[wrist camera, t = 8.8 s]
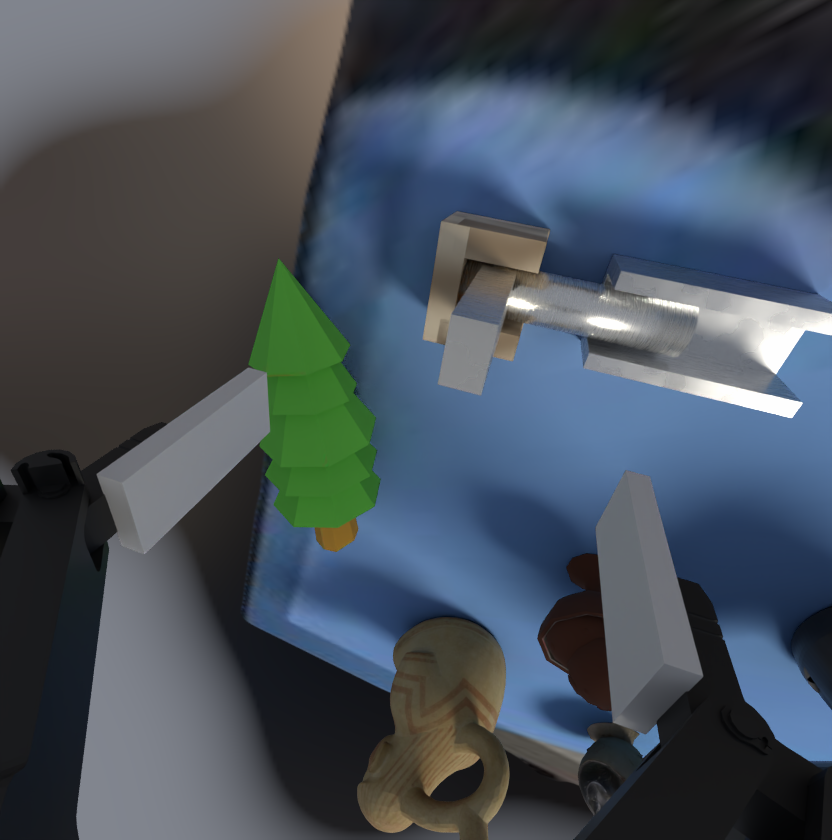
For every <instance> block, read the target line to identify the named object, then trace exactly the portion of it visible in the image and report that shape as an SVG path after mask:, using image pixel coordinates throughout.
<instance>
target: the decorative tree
mask: <svg viewBox="0 0 832 840" xmlns="http://www.w3.org/2000/svg"><path fill="white" fill-rule="evenodd" d="M349 347H350V344H349V342H348V341H347V340H346V339H345V338H344V336H343V335H342V334H341V333H340V332H339V330H338V329H337V328H336V327H335V325H334V324H333V323H332V322H331V321H330V319H329V318H328V317H327V316H326V315H325V313H324V312H323V311H322V310H321V309H320V307H319V306H318V305H317V304H316V303H315V301H314V300H313V299H312V298H311V297H310V295H309V294H308V293H307V292H306V291H305V289H304V288H303V287H302V286H301V285H300V283H299V282H298V281H297V280H296V278H295V277H294V276H293V275H292V274H291V272H290V271H289V270H288V269H287V268H286V266H285V265H284V264H283V263H282V262H281V260H280V259H278V262H277V265H276V269H275V272H274V276H273V279H272V283H271V286H270V290H269V293H268V297H267V300H266V304H265V307H264V311H263V315H262V318H261V322H260V325H259V329H258V332H257V336H256V340H255V343H254V346H253V350H252V353H251V357H250V361H249V365H250V366H252V367H253V368H254V369H256V370H259V371H263V372H267V386H268V403H269V420H270V432H269V433H268V434H267V435H266V436H265V437H264V438H263V439H262V440H261V442H260V447H261V448H262V449H263V450H264V451H265V452H266V453H267V454H268V455H269V456H270V457H271V458H272V459H273V460H272V462H271V464H270V466H269V468H268V470H267V472H266V474H265V476H266V477H267V478H268V479H269V480H270V481H271V482H272V483H273V484H274V485H275V486H276V487H277V488H278V489H279V490H280V491H279V493H278V496H277V498H276V500H275V502H274V506H275V507H276V508H277V509H278V510H279V511H280V513H281V514H282V515H283V516H284V517H285V518H286V519H287V520H288V521H289V523H290V524H291V525H292V526H293V527H315V533H316V540H317V542H318V543H319V544H320V545H321V546H322V548H323V549H325V550H330V551H334V552H337V551H339V550H340V549H342V548H343V547H345V546H346V545H348V544H349V543H351V542H352V541H354V539H355V537H356V534H357V531H358V525H357V521H356V517H357V516H359V515H361V514H362V513H364V512H366V511H368V510H369V509H371V508H373V507H374V506H375V503H376V498H377V493H378V489H379V484H380V480H381V479H380V478H379V477H378V476H377V475H376V474H375V473H374V472H373V471H372V468H373V464H374V460H375V456H376V452H377V450H376V449H375V448H374V447H373V446H372V445H371V444H370V440H371V436H372V432H373V428H374V424H375V420H376V417H375V416H374V415H373V414H372V413H371V412H370V411H369V409H368V408H367V407H366V406H365V405H364V404H363V403H362V402H361V401H360V400H359V399H358V397H357V396H356V395H355V394H354V393H353V392H354V390H355V387H356V385H357V383H356V381H355V380H354V379H353V378H352V376H351V375H350V374H349V372H348V371H347V370H346V368H345V367H344V366H343V364H342V363H341V362H342V361H343V359H344V357H345V355H346V353H347V351H348V349H349Z"/></svg>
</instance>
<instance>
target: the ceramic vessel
mask: <svg viewBox="0 0 832 840" xmlns="http://www.w3.org/2000/svg"><path fill="white" fill-rule="evenodd" d="M393 661H394V664H395V667H396V669H397V672H396V674H395V677H394V680H393V683H392V688H391V695H390V705H391V711H392V715H393V718H394V723H395V734H394V735H389V736H386V737H385V738H384V739H383V740H382V741H380V742H379V744H378V745H377V746H376V748H375V749H374V751H373V752H372V754H371V756H370V760H369V766H368V769H367V772H366V773H365V776H364V778H363V782H362V783H360V784H359V785H358V789H357V795H358V802H359V805H360V808H361V810H362V812H363V814H364V815H365V817H366V818H367V820H368V821H369V822H370V823H371V824H372V825H373V826H374V827H375V828H377V829H378V830H381V831H383V832H390V833H394V832H399V831H402V830H404V829H405V828H407V827H408V826H409V825H411V824H412V822H414V823H416V824H417V825H419V826H421V827H423V828H426V829H429V830H432V831H437V832H452V833H453V832H459V834H460V840H488V822H489V821H490V820H491V819H492V818H493V817H494V816H495V815H496V813H497V812H498V810H499V809H500V807H501V805H502V803H503V800H504V798H505V795H506V791H507V788H508V782H509V766H508V760H507V756H506V753H505V750H504V748H503V746H502V744H501V742H500V741H499V739H498V738H497V737H496V736H495V735H494V734H493V732H494V728H495V725H496V722H497V719H498V716H499V712H500V709H501V705H502V701H503V697H504V690H505V682H506V666H505V658H504V655H503V652H502V650H501V647H500V645H499V644H498V642H497V641H496V640H495V639H494V637H493V636H492V635H491V634H490V633H488V632H487V631H486V630H485V629H483V628H482V627H480V626H479V625H477V624H475V623H473V622H470V621H468V620H465V619H461V618H456V617H440V618H435V619H430V620H427V621H423V622H421V623H419V624H418V625H416V626H414V627H413V628H411V629H410V630H409V631H407V632H406V633H405V634H404V635H403V636H402V637H401V638H400V639H399V640H398V642H397V643H396V645H395V647H394V652H393ZM479 758H481V760H482V762H483V765H484V777H483V780H482V782H481V784H480V786H479V788H478V789H477V791H476V792H474V793H473V794H472V795H470V796H469V797H466V798H464V799H461V800H458V801H454V802H444V801H436V800H434V799H432V798H431V797H430V794H431V793H432V791H433V790H434V789H435V788H436V787H437V786H438V784H439V783H440V782H442V781H443V780H444V779H445V778H446V777H447V776H449V775H450V774H452V773H454V772H455V771H457V770H461V769H464V768H466V767H469V766H471V765H472V764H474V763H475V762H476V761H477V760H478V759H479Z"/></svg>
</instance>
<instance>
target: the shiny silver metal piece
mask: <svg viewBox="0 0 832 840" xmlns="http://www.w3.org/2000/svg"><path fill="white" fill-rule="evenodd" d="M698 316H699V308H698V307H695V306H690V305H685V304H681V303H676V302H671V301H666V300H662V299H657V298H652V297H647V296H643V295H638V294H633V293H628V292H624V291H619V290H614V288H613V286H608V285H603V284H599V283H594V282H589V281H584V280H579V279H575V278H570V277H565V276H560V275H556V274H551V273H546V272H541V271H539V272H538V273H533V272H529V271H524V270H519V269H514V268H510V267H505V266H500V265H495V264H491V263H486V262H481V261H476V260H472V259H468V260H467V262H466V265H465V268H464V271H463V275H462V279H461V283H460V288H459V293H458V300H457V306H456V307H455V309H454V310H453V312H452V314H451V317H450V323H449V328H448V333H447V338H446V344H445V349H444V354H443V360H442V365H441V370H440V376H439V381H438V385H442V386H446V387H450V388H454V389H457V390H461V391H465V392H469V393H473V394H477V395H481V394H482V391H483V387H484V384H485V381H486V378H487V375H488V372H489V368H490V365H491V362H492V359H493V356H494V353H495V349H496V346H497V343H498V340H499V337H500V334H501V330H502V327H503V324H504V320H505V319H509V320H514V321H518V322H522V323H527V324H531V325H535V326H540V327H544V328H549V329H553V330H557V331H562V332H566V333H570V334H575V335H579V336H584V337H588V338H592V339H597V340H601V341H605V342H610V343H614V344H619V345H623V346H627V347H632V348H636V349H640V350H645V351H649V352H654V353H658V354H662V355H667V356H671V357H677V356H679V355H680V354H681V353H682V352H683V351H684V350H685V349H686V347H687V346H688V344H689V342H690V340H691V338H692V336H693V334H694V331H695V329H696V325H697V322H698Z"/></svg>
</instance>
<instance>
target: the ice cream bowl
mask: <svg viewBox="0 0 832 840" xmlns="http://www.w3.org/2000/svg"><path fill="white" fill-rule="evenodd" d="M566 568H567V571H568V574H569V577H570V579H571V581H572V582H573V583H575V584H576V585H578V586H579V587H581V588H582V589H585V591H583V592H579V593H575V594H572V595H568V596H565V597H563V598H561V599H559V600H558V601H557V602H556V604H555V605H554V607H553V608H552V609H551V611H550V612H549V614H548V615H547V616H546V618H545V620H544V621H543V623H542V624H541V627H540V630H539V634H538V638H537V639H538V641H539V644H540V646H541V648H542V651H543V653H544V656H545V658H546V660H547V661H549V662H550V663H552V664H553V665H555V666H556V667H558V668H560V669H561V670H563V671H564V672H566V673H567V674H569V675H570V676H569V675H568V679H569V682H570V684H571V685H572V687H573V689H574V690H575V692H576V693H577V694H579V695H580V696H582V697H583V698H584V699H585V700H586V701H587V702H588V703H590V704H592V705H595V706H597V708H599V709H600V710H605V711H612V707H611V696H610V684H609V673H608V662H607V651H606V640H605V629H604V617H603V606H602V595H601V584H600V573H599V562H598V555H595V554H588V553H586V554H583V555H580V556H577V557H574V558H572V559H571V561H570V562H569V564H568V565H567V567H566Z"/></svg>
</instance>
